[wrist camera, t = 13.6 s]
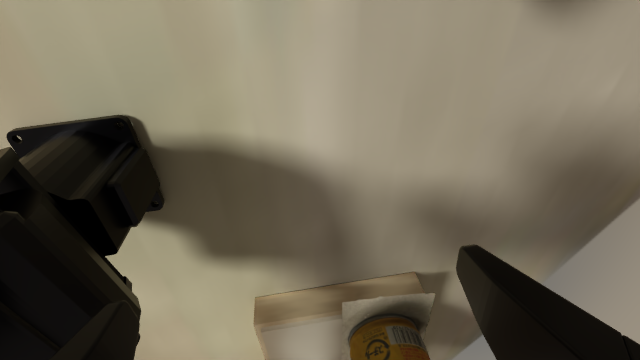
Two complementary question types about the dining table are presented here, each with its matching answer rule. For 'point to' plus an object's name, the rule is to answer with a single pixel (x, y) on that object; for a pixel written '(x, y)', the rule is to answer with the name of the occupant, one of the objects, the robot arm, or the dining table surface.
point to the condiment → (386, 327)
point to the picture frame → (317, 316)
